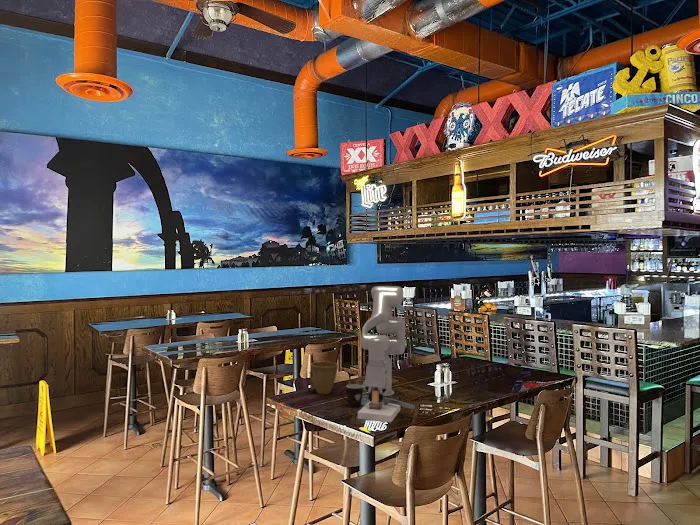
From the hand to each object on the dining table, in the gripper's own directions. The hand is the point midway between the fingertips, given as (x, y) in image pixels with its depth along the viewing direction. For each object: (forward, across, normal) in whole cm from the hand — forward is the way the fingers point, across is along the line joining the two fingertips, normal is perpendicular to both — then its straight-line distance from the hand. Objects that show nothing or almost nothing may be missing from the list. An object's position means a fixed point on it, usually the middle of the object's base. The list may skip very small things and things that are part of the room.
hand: (375, 400), depth 254 cm
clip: (+3, -10, -3) cm, 11 cm away
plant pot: (+7, +37, -28) cm, 47 cm away
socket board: (+6, -2, 0) cm, 7 cm away
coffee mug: (+7, +15, -9) cm, 18 cm away
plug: (+6, 0, 0) cm, 6 cm away
